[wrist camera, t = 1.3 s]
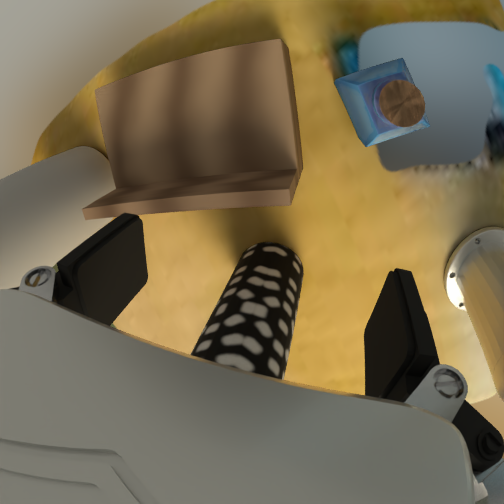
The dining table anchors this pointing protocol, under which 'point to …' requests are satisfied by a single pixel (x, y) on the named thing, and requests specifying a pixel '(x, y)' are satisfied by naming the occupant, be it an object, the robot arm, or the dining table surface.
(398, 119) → the perfume bottle
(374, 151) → the dining table surface
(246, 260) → the spotted tube
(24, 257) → the cylinder vase
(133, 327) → the dining table surface
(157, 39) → the dining table surface
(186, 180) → the brown wooden bench
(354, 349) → the dining table surface
